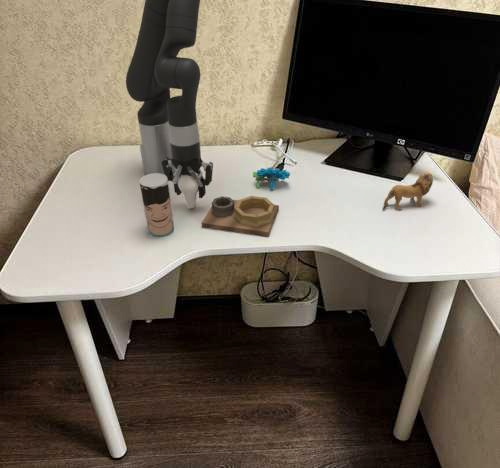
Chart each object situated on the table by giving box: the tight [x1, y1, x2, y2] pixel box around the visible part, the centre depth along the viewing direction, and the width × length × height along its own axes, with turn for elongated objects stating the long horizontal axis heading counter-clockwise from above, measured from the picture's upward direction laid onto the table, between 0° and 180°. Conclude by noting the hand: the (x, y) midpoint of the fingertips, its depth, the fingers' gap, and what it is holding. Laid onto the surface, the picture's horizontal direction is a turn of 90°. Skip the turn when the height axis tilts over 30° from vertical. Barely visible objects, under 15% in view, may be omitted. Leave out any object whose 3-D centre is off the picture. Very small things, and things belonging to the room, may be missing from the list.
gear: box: [252, 167, 291, 192], centre depth 137 cm, size 11×6×10 cm
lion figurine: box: [382, 172, 434, 211], centre depth 126 cm, size 15×5×9 cm, turn 112°
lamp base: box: [201, 195, 280, 238], centre depth 123 cm, size 18×13×4 cm
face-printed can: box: [139, 173, 175, 239], centre depth 116 cm, size 7×7×15 cm
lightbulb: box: [178, 175, 199, 209], centre depth 126 cm, size 6×6×11 cm
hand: (190, 195), depth 127 cm, fingers closed on lightbulb, 6 cm apart
